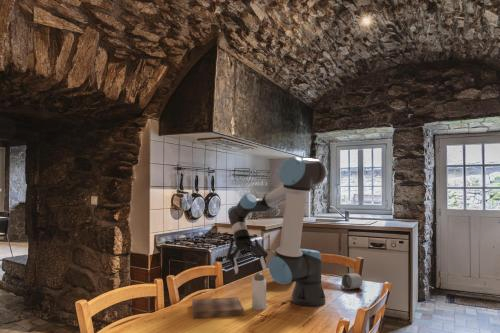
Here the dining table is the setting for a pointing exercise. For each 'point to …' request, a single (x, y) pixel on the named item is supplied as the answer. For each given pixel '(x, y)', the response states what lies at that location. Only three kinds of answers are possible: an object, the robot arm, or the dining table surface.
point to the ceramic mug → (351, 281)
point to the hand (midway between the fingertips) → (251, 271)
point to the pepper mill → (259, 292)
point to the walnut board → (217, 307)
